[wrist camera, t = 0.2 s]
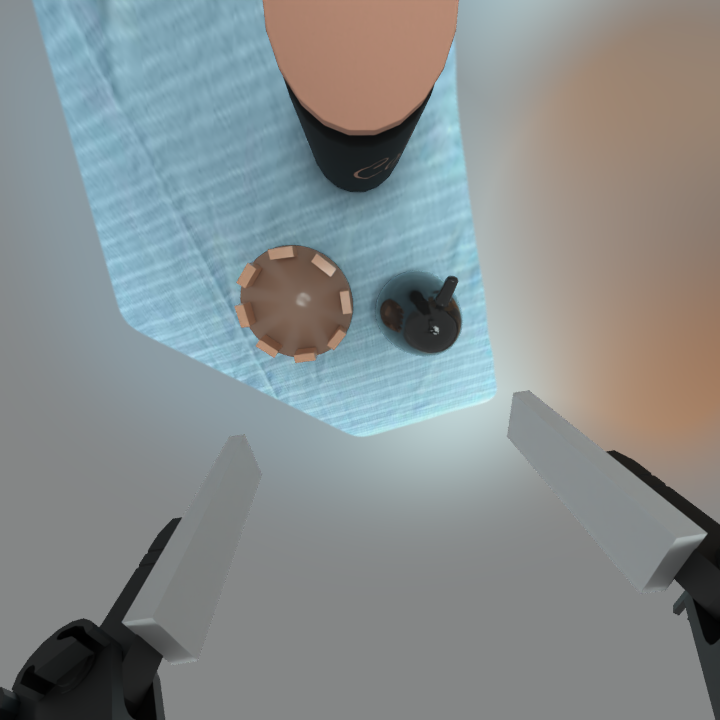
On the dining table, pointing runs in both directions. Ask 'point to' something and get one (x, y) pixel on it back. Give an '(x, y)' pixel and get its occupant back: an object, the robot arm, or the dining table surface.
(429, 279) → the pump dispenser
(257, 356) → the dining table surface
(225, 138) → the dining table surface
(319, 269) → the castellated collar
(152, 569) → the robot arm
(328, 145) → the coffee jar
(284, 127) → the dining table surface
